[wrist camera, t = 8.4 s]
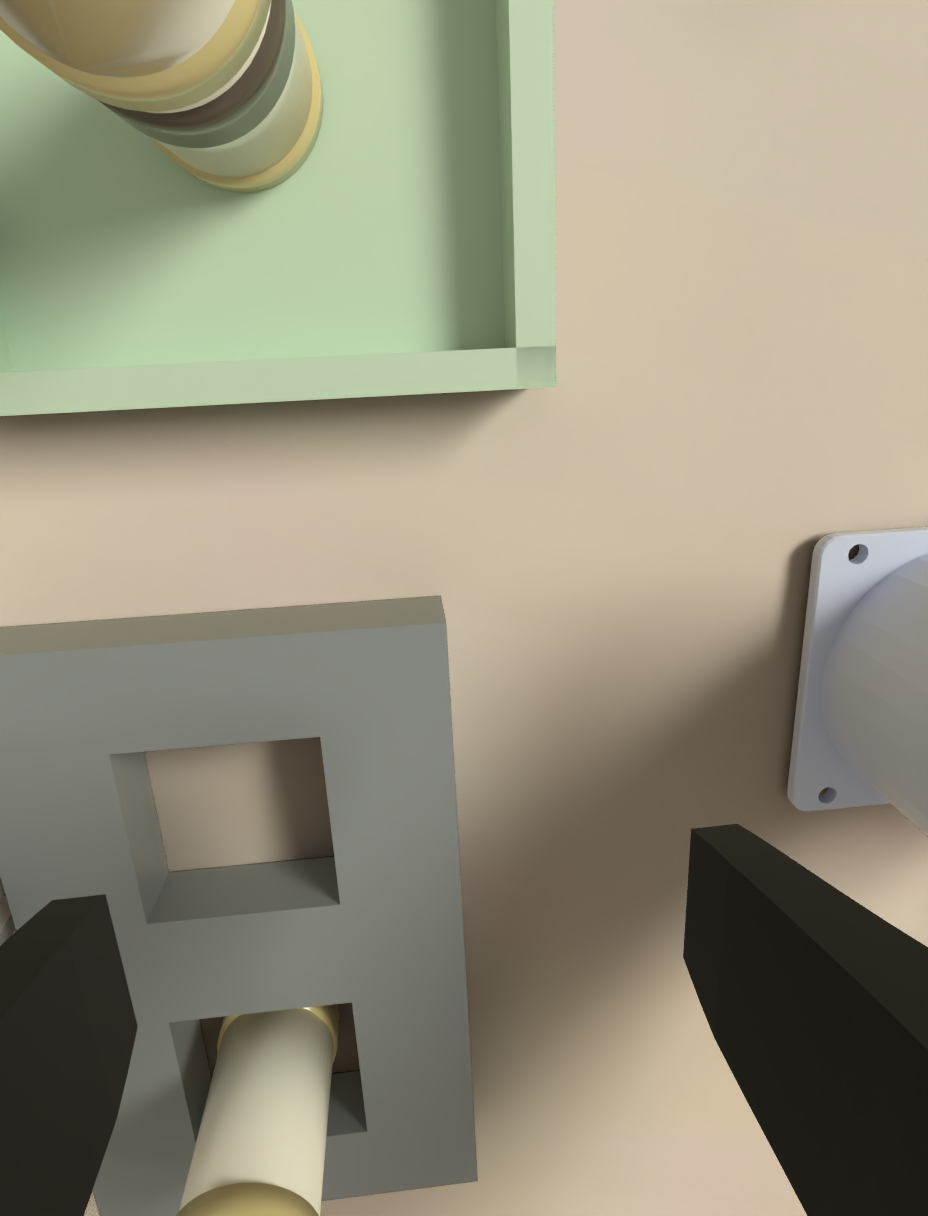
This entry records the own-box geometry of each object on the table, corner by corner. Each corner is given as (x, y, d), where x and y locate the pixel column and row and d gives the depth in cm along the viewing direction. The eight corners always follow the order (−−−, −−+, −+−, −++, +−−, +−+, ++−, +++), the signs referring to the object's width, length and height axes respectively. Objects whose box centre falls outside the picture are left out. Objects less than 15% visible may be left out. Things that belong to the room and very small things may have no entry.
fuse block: (440, 595, 19) (446, 623, 17) (471, 1118, 25) (477, 1180, 23) (-17, 628, 18) (-64, 660, 16) (126, 1160, 24) (103, 1229, 22)
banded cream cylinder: (321, -7, 14) (251, -293, 8) (325, 197, 15) (266, 97, 9) (135, -21, 14) (-105, -333, 7) (152, 187, 15) (-40, 77, 9)
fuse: (332, 967, 22) (308, 1221, 16) (345, 1055, 23) (327, 1327, 17) (215, 981, 22) (140, 1245, 16) (233, 1069, 23) (171, 1351, 17)
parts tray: (526, -311, 14) (551, -430, 12) (536, 382, 18) (555, 387, 16) (-176, -321, 13) (-286, -451, 11) (-3, 410, 17) (-58, 419, 15)
